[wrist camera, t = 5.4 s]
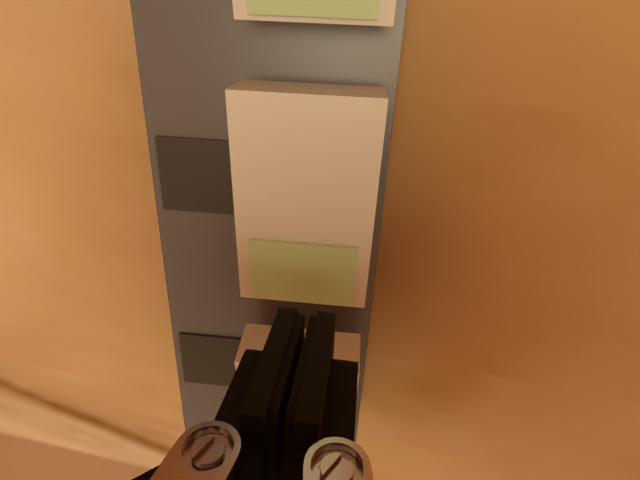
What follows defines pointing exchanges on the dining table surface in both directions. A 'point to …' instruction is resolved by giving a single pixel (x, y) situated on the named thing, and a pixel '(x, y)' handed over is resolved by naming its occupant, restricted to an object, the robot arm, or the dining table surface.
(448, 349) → the dining table surface
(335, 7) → the rocker
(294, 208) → the rocker middle
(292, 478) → the robot arm
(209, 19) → the power strip
